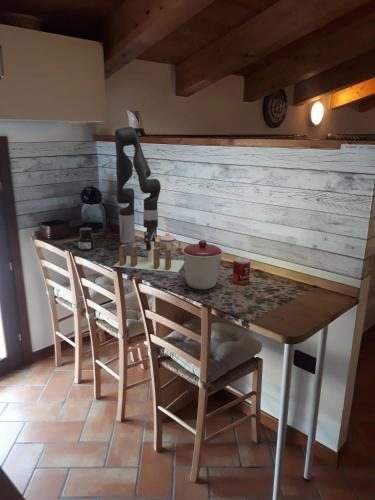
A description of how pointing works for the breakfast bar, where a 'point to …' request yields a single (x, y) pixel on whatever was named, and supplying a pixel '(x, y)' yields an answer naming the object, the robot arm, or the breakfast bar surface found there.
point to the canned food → (241, 270)
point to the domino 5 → (167, 258)
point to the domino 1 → (122, 255)
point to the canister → (202, 264)
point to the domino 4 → (156, 257)
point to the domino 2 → (133, 255)
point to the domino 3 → (151, 252)
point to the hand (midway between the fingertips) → (150, 248)
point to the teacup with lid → (167, 244)
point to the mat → (152, 264)
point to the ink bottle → (86, 239)
